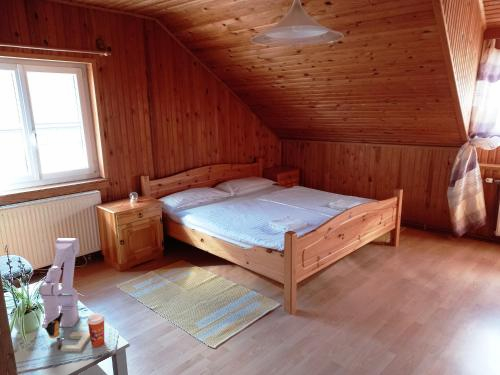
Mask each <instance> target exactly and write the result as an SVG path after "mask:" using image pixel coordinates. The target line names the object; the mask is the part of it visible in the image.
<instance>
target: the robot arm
mask: <svg viewBox="0 0 500 375" xmlns="http://www.w3.org/2000/svg"><path fill="white" fill-rule="evenodd" d="M54 249H55V252H56V253H55V257H54V259H53V264H52V267H49V268H48V271H47V274H46V277H45V279H44V282H43V283H41V284H40V285H39V290H38V294H39V295H40V298H41V300H42V303H43V310H44V314H42V318H43V321H42V323H41V328H43V329H45V331H46V333H47V334H48V336H53V335H54V328H55V324H56V323H52V322H51V321H54V320H57V321H58V323H59V328H73V327H74V326H75V324H76V323H77V322H78V321H79V319H81V315H79V306H78V305H79V304H78V302H79V296H78V295H79V294H78V290H76V289H75V288H73V286H74V284H73V283H74V275H75V264H76V255H79V252H80V240H79V239H78V238H60V237H59V238H57V239H56V240H55V244H54ZM62 266H63V270H62V269H61V268H62ZM61 276H62V280H61V288H60V289H59V287H60V279H61Z"/></svg>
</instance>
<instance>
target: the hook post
mask: <svg viewBox="0 0 500 375" xmlns="http://www.w3.org/2000/svg"><path fill="white" fill-rule="evenodd" d="M56 338H57V339H56V346H57V350H59V351H61V347H62V346H63V345H62V342H64V341H65V338H62V337H56Z"/></svg>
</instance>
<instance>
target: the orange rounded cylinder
mask: <svg viewBox="0 0 500 375" xmlns="http://www.w3.org/2000/svg"><path fill="white" fill-rule="evenodd" d="M51 322H52V323H56V324H55V328H54V335H53V336H49V335H48V336H49V338H50V339H55V338H59V336H60V335H61V334H60V333H61V332H60V327H59V323H58V321H57V320H54V321H51Z"/></svg>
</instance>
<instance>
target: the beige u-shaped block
mask: <svg viewBox="0 0 500 375" xmlns="http://www.w3.org/2000/svg"><path fill="white" fill-rule="evenodd" d="M69 338H70V340H72V339H73V340H78V342H77V344H76V345H68V344H67V345H64V344H63V345H62V347H61V349H60V352H79V353H80V352H82V350H83V349H84V348H85V346H86V345H87V343H88V341H89V340H90V333H89V331H73V332H71V333H70V335H69Z"/></svg>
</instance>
